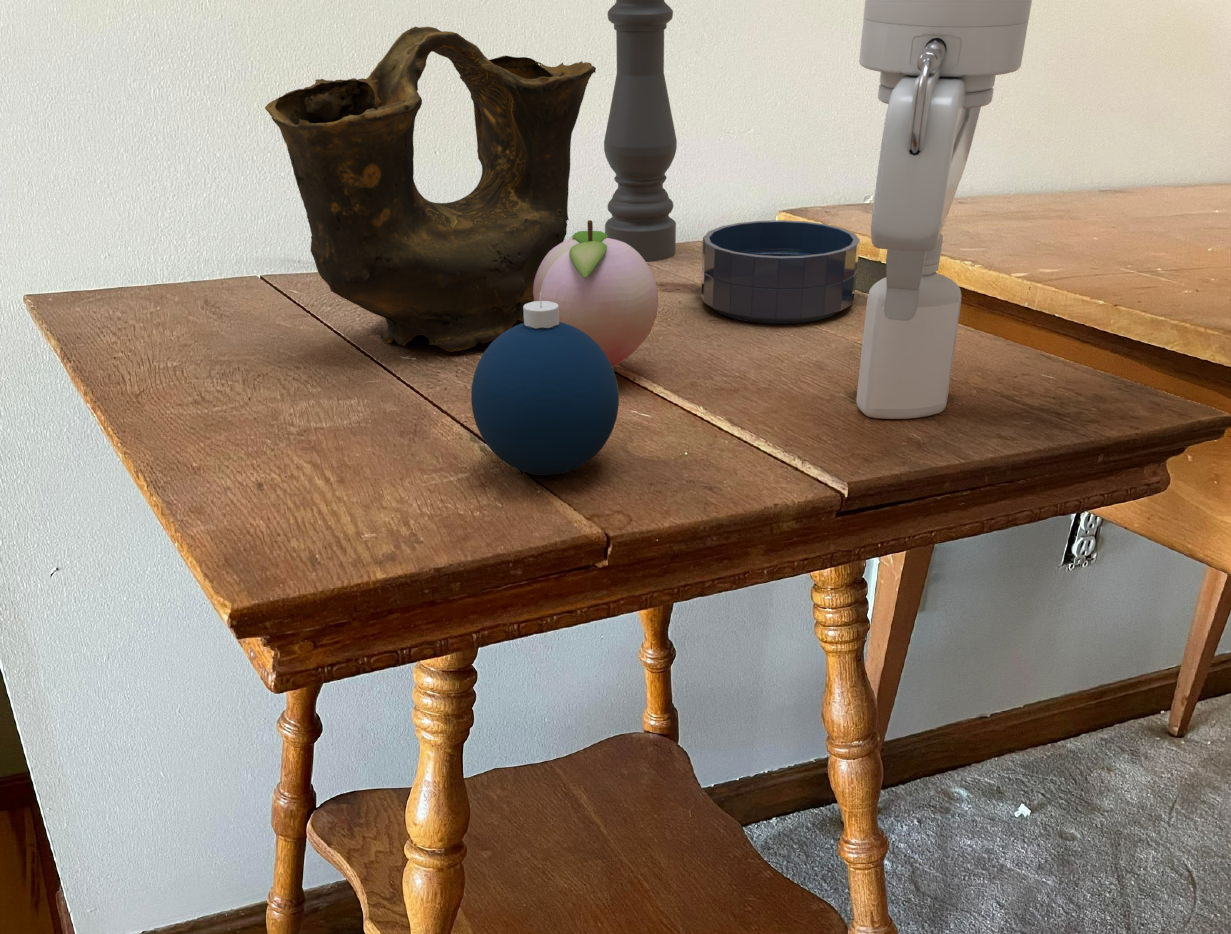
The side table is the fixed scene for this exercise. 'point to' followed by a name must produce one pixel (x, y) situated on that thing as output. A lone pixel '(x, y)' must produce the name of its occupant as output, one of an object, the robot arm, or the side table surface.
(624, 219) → the candle holder
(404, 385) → the side table surface
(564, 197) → the pottery vessel
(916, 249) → the robot arm
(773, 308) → the bowl
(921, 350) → the eye dropper bottle
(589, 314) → the decorative fruit
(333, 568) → the side table surface
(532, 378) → the christmas ornament
